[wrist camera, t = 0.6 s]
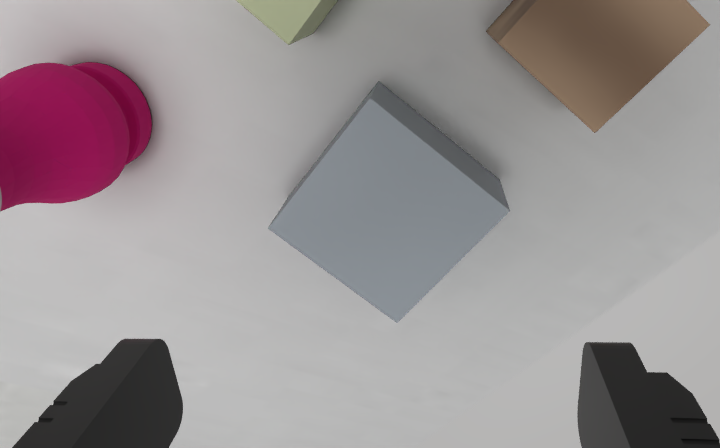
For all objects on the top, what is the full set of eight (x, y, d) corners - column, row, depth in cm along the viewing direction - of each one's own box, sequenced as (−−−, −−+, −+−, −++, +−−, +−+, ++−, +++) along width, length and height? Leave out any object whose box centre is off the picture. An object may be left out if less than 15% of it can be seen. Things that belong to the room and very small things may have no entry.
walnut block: (573, -68, 28) (608, -80, 22) (656, 15, 29) (709, 25, 23) (485, 31, 30) (497, 43, 24) (565, 105, 31) (594, 133, 25)
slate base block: (379, 80, 32) (370, 98, 27) (499, 178, 33) (510, 210, 28) (289, 195, 35) (267, 228, 30) (401, 279, 36) (397, 322, 32)
